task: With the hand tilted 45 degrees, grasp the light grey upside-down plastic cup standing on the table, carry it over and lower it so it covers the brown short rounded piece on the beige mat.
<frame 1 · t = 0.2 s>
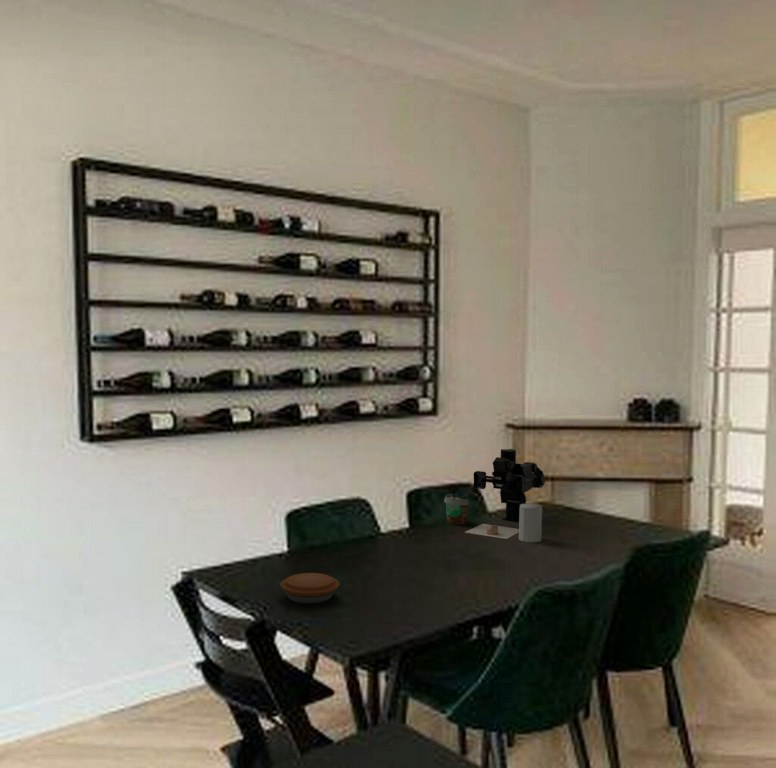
hand: (489, 486, 275), 17 cm above the table, tool horizontal, fingers open, 9 cm apart
pie: (309, 597, 203), on the table
cover cup: (529, 540, 266), on the table
placemat: (494, 531, 277), on the table
brown short rounded piece: (492, 533, 273), resting on placemat
food container: (452, 524, 289), on the table
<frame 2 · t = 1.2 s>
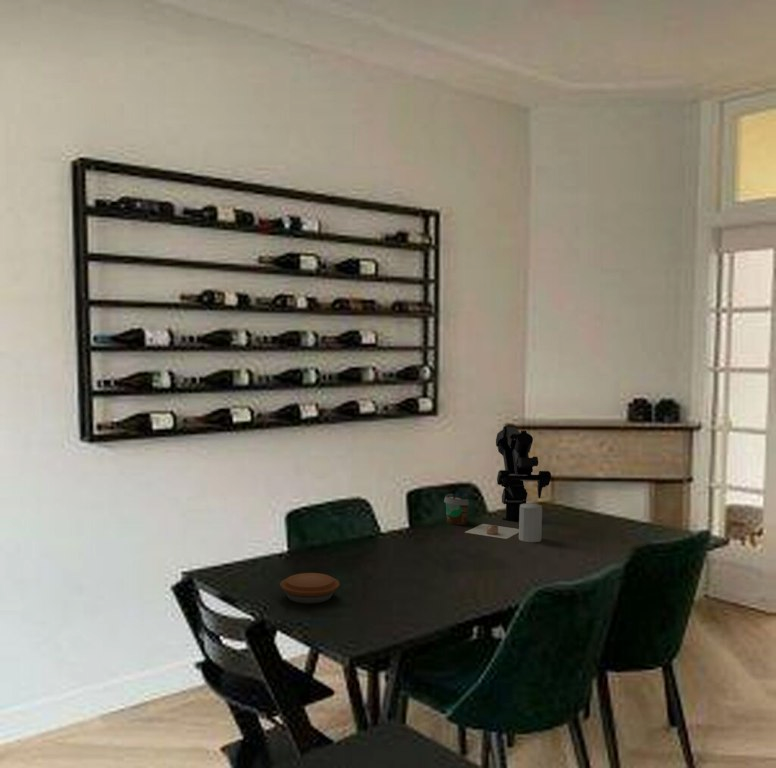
hand: (526, 497, 273), 13 cm above the table, tool tilted 45°, fingers open, 9 cm apart
nothing on the table moved.
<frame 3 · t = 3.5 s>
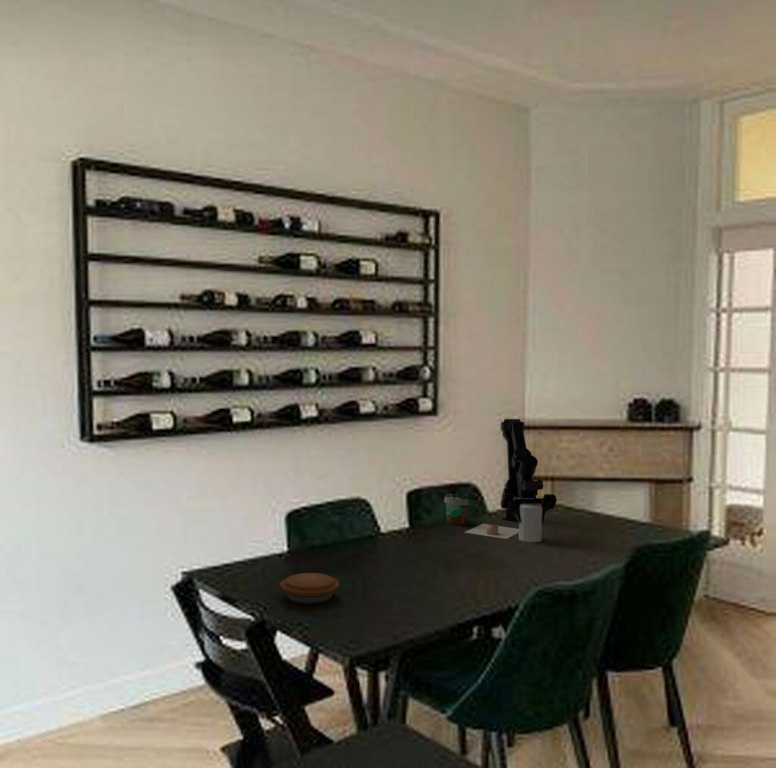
hand: (531, 522, 265), 7 cm above the table, tool tilted 45°, fingers closed on cover cup, 7 cm apart
cover cup: (529, 540, 266), on the table, touching gripper
everything else where it was.
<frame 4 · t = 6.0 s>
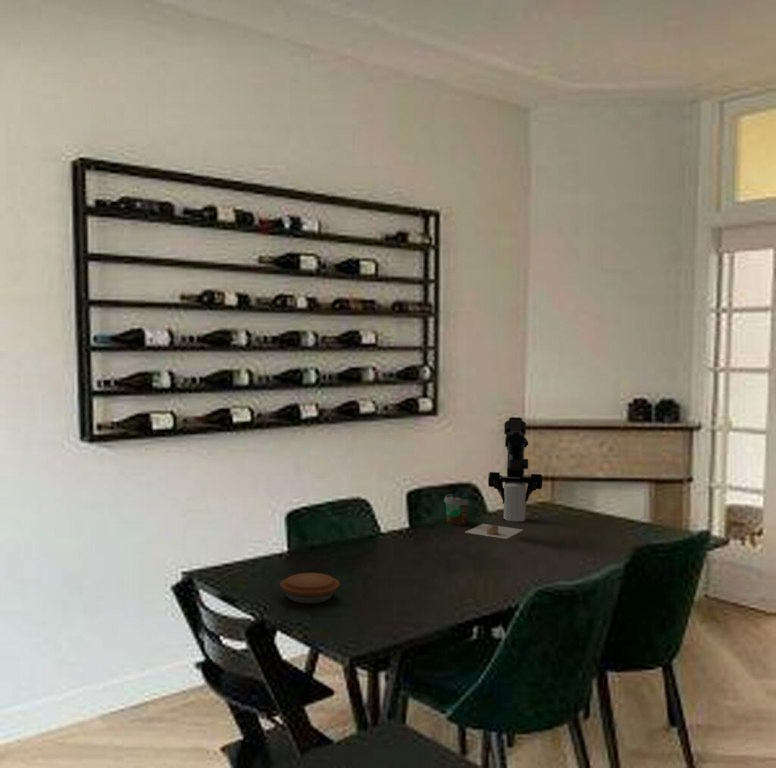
hand: (514, 500, 267), 13 cm above the table, tool tilted 45°, fingers closed on cover cup, 7 cm apart
cover cup: (514, 518, 268), point 7 cm above the table, touching gripper
everything else where it was.
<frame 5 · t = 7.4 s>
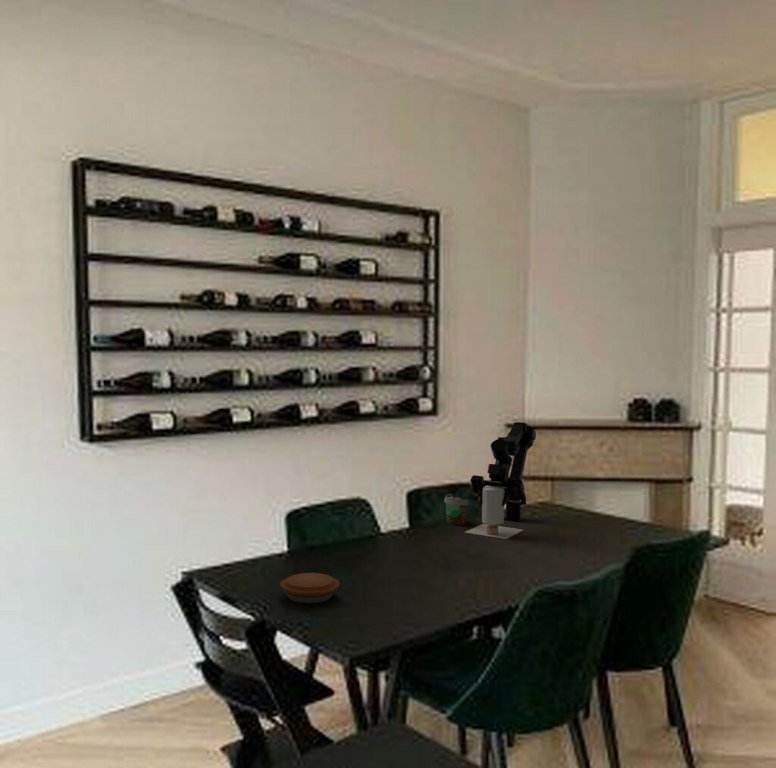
hand: (492, 504, 272), 11 cm above the table, tool tilted 45°, fingers closed on cover cup, 7 cm apart
cover cup: (492, 522, 273), point 4 cm above the table, touching gripper
everything else where it was.
when the fingers open (8 cm above the table, at t = 8.6 s): cover cup drops 1 cm, resting on placemat.
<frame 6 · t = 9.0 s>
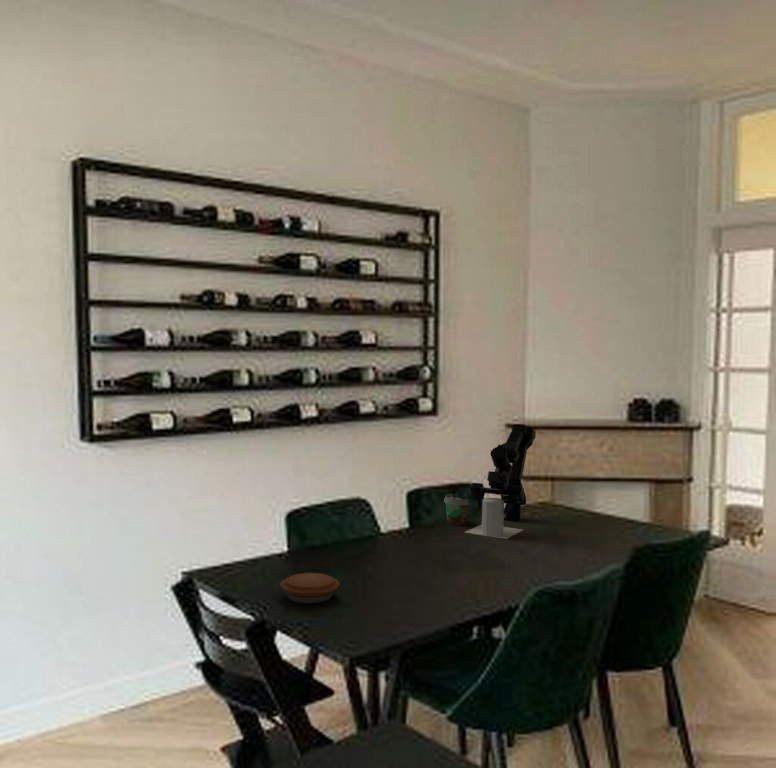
hand: (491, 511, 272), 8 cm above the table, tool tilted 45°, fingers open, 9 cm apart
cover cup: (492, 533, 274), resting on placemat
everything else where it was.
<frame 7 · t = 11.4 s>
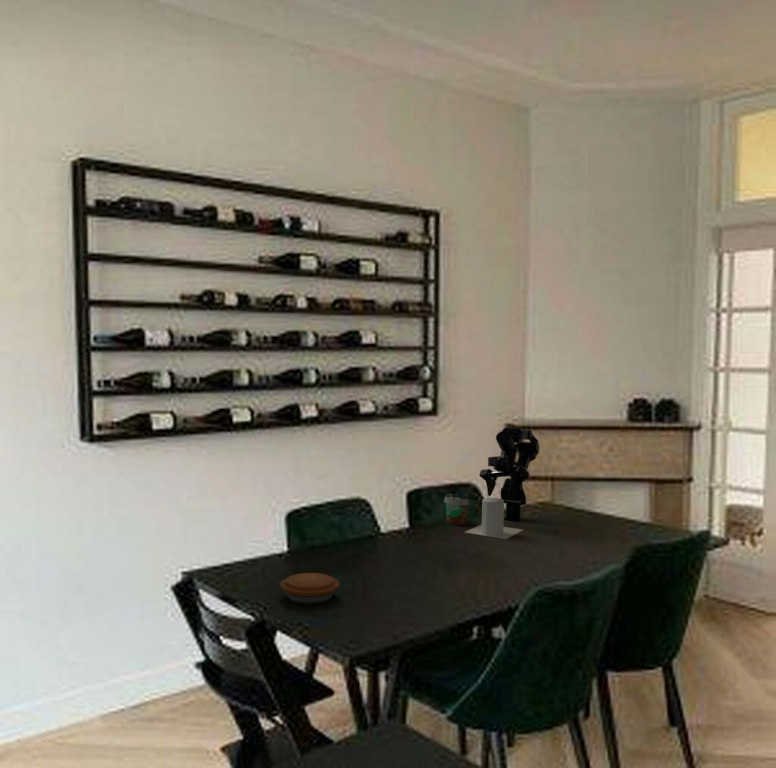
hand: (499, 495, 281), 13 cm above the table, tool tilted 35°, fingers open, 9 cm apart
nothing on the table moved.
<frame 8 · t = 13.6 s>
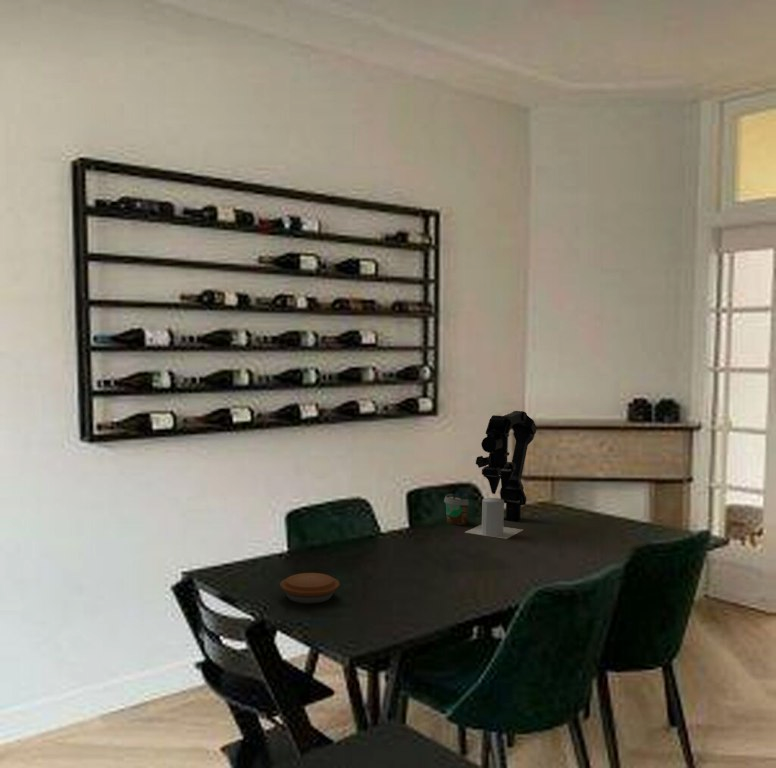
hand: (498, 491, 285), 13 cm above the table, tool pointing down, fingers open, 9 cm apart
nothing on the table moved.
at the end: cover cup 0.0 cm from the brown short rounded piece (horizontally); cover cup tilted 0°; the gripper is holding nothing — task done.
